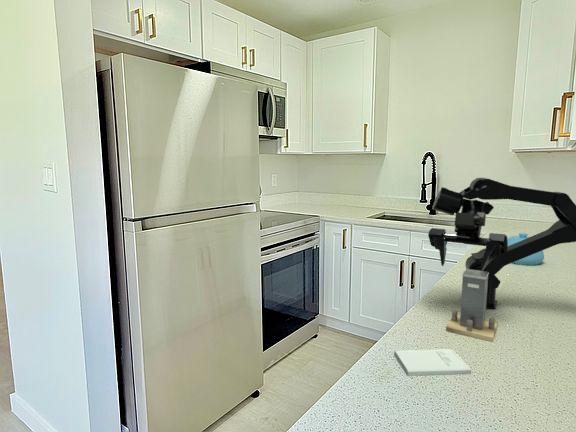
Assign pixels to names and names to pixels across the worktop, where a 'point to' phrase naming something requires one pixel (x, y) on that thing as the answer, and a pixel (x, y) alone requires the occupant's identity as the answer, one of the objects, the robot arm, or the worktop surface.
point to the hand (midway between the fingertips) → (461, 267)
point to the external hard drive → (431, 362)
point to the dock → (484, 334)
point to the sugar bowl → (529, 260)
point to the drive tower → (474, 298)
